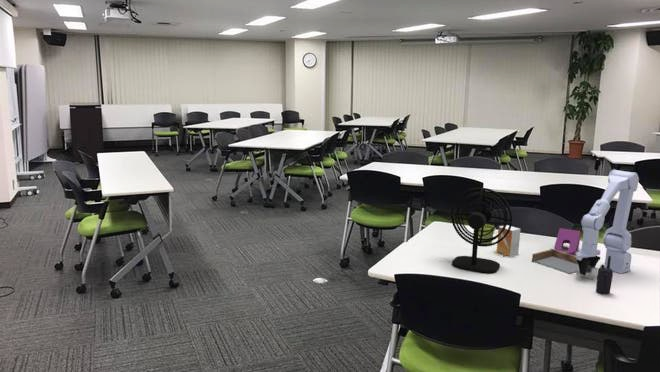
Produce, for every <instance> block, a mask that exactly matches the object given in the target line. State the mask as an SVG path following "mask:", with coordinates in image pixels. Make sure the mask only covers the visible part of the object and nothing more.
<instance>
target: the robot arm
mask: <svg viewBox="0 0 660 372" xmlns="http://www.w3.org/2000/svg"><path fill="white" fill-rule="evenodd" d="M639 181H640V178H639V175H638V173H637V172H633V171H632V172H631V171H627V170H625V171H624V170H617V169H612V170H611V171H610V172H609V174H608V177H607V182H608V184H607V186H606V187H605V190H604V192H603V193H602V196H601V198H600V199H597V200H595V203H594V204H593V206H592V207H591V208H590V211H589V212H588V213H587V214H584V215H583V216H582V219H581V220H580V223H581V226H582V232H583V233H582V240H581V241H582V243H581V249H578V254H575V256H576V261H577V263H578V266H579V271H580V274H582V275H586V272H587V268H588V265H589V266H592V267H596V266H597V264H598V262H599V261H600V260H601V256H600V255H601V250H600V249H598V243H599V233H600V230H601V229H602V228H603V226H604V222H605V220H606V219H605V216H606V215H607V213H608V212H609V210H610V208H611V205H610V203H611V202H612V200H613V199H614V197H616V195H617V194H618V192H619V195H618V199H617V204H616V208H615V214H614V218H613V222H612V223H613V224H612V226H611V227H609V228H608V229H606V230H605V233H604V235H603V238H602V244H603V245H604V248H605V249H606V251H605V252H606V253H605V258H604V264H603V265H604V267H607V262H608V257H609V256H611V261H610V268H611V269H612V271H613V272H615V273H618V274H624V273H628V272H630V271H631V263H632V254H631V253H630V252H628V251H629V250H630V248H631V247H632V234H631V232H629V230H628V229H627V225H628V220H629V216H630V211H631V207H632V202H633V201H632V200H633V197H634V192H637V191H638V185H639ZM599 268H601V265H600V266H599Z"/></svg>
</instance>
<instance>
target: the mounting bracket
mask: <svg viewBox="0 0 660 372" xmlns="http://www.w3.org/2000/svg"><path fill="white" fill-rule="evenodd" d="M580 241H581V231H580V230H574V229H569V228H562V227H559V229H558V233H557V236H556V240H555V243H554V250H558V251H561V252H564V253H568V254H571V255H574V256H575V255H576V254H577V253H576V252H579V248H580ZM564 244H569V245H568V249H567V250H562V249H563V247H564Z"/></svg>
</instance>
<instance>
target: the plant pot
mask: <svg viewBox="0 0 660 372" xmlns="http://www.w3.org/2000/svg"><path fill="white" fill-rule="evenodd" d="M494 226H495V225H491V224H485V225H484V230H483V231H487V230H491V229H493V228H494ZM496 229H497V227H496V228H495V229H494V230H493V231H492V230H491V231H492V232H491V233H490V234H488V235H486V236H483V237H482V239H487V238H492V237H494V233H495V232H496V231H495V230H496ZM479 230H481V229H479ZM489 232H490V231H488V232H483V235H485V234H487V233H489ZM479 235H481V232H480V231H479ZM479 238H480V236H479ZM490 243H493V241H490V242H486V243H481V244H490Z"/></svg>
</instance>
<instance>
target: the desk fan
mask: <svg viewBox="0 0 660 372" xmlns="http://www.w3.org/2000/svg"><path fill="white" fill-rule="evenodd" d="M473 191H477V192H473ZM469 192H473V193H470V194H468V195H467V196H465V197H464V198H462V197H463V196H464V195H465V194H467V193H469ZM474 196H479V198H478V199H475V200H473V201H471V203H470V204H467V206H465V207H464V209H463V210H462V212H460V211H461V207H462V205H463V203H464V202H465V201H466V200H467V199H468V198H471V197H474ZM460 198H462V199H461V200H460ZM487 198H489V199H487ZM459 200H460V202H459ZM492 200H493V201H492ZM482 201H483V202H482ZM487 201H488V202H490V203H492V205H494V206H495V207H496V209H497V211H498V216H497V215H496V212H495V210H494V209H493V208H492V206H490V205H489V204H488V203H486V202H487ZM458 202H459V203H458ZM495 202H496V203H495ZM457 203H458V204H457ZM474 204H478V205H477V209H476V212H473V213H472V212H468V211H469V208H470V206H471V205H474ZM497 204H498V206H499V207H498V206H497ZM456 205H457V206H456ZM481 205H483V206H481ZM505 205H506V206H505ZM506 207H507V208H506ZM455 208H456V209H455ZM499 208H500V209H501V210H500V209H499ZM465 210H466V211H465ZM501 211H502V214H503V217H501ZM450 213H451V214H450V217H451V224H452V226H453V228H454V230H455V232H456V233H457V235H458V236H459V237H460V238H461V239H462V240H463V241H465V242H466V243H468V244H470V245H472V249H471V251H472V252H471V253H472V254H471V255H458V256H456V257H455V258H454V259H453V260H451V265H452V266H454V267H456V268H458V269H459V268H460V269H464V270H469V271H473V272H480V273H496V272H497V271H498V270H499V268H500V267H501V264H500V263H499V262H497V261H496V260H493V259H490V258H488V259H487V258H484V257H483V258H482V257H478V248H479V247H492V246H495V245H497V243H499V242H500V241H502V240H503V239H504V238H505V237H506V236H507V234H508V233H509V231H510V229H511V226H512V225H514V220H513V212H512V208H511V206H510V205H509V203H508V201H507V200H506V199H505V198H504V197H503V196H502V195H501V194H500V193H498V192H497V191H495V190H493V189H490V188H485V187H474V188H471V189H467V190H465V191H464V192H463V193H461V194H459V196H458V197H457V198H456V199H455V201H454V203H453V205H452V207H451V212H450ZM508 213H509V214H508ZM464 216H465V217H464ZM468 216H469V217H468ZM492 219H495V220H494V221H491V220H492ZM501 220H502V222H501ZM464 221H467V224H468V226H469V228H471V229H473V232H471V231H470V230H468V228H467V227H466V226H465V224H464ZM487 224H488V225H491V224H493V226H494V228H493V229H491V230H492V231H493V230H494V229H495V228H496V229H497V227H499V225H502V226H503V228H502V230H501V232H500V233H499V234H498V233H497V234H496V235H493V237H492V238H487V239H482V237H483V236H486V235H488V234H490V233H491V232H492V231H491V230H487V231H483V230H484V225H487ZM506 225H509V228H508V231H507V232H506V234H505V235H504V236H503V237H502V238H501V239H500V240H498V237H499V236H500V235H501V233H502V232H503V231H504V229H505V228H506ZM512 227H513V226H512ZM479 229H481V230H479ZM496 229H495V230H496ZM479 231H480V232H481V235H479ZM488 231H490V232H489V233H487V234H485V235H483V232H488ZM479 236H480V238H479ZM496 239H497V240H496ZM494 240H496V241H495V242H493V241H494ZM490 241H492V243H490V244H481V243H486V242H490Z"/></svg>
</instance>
